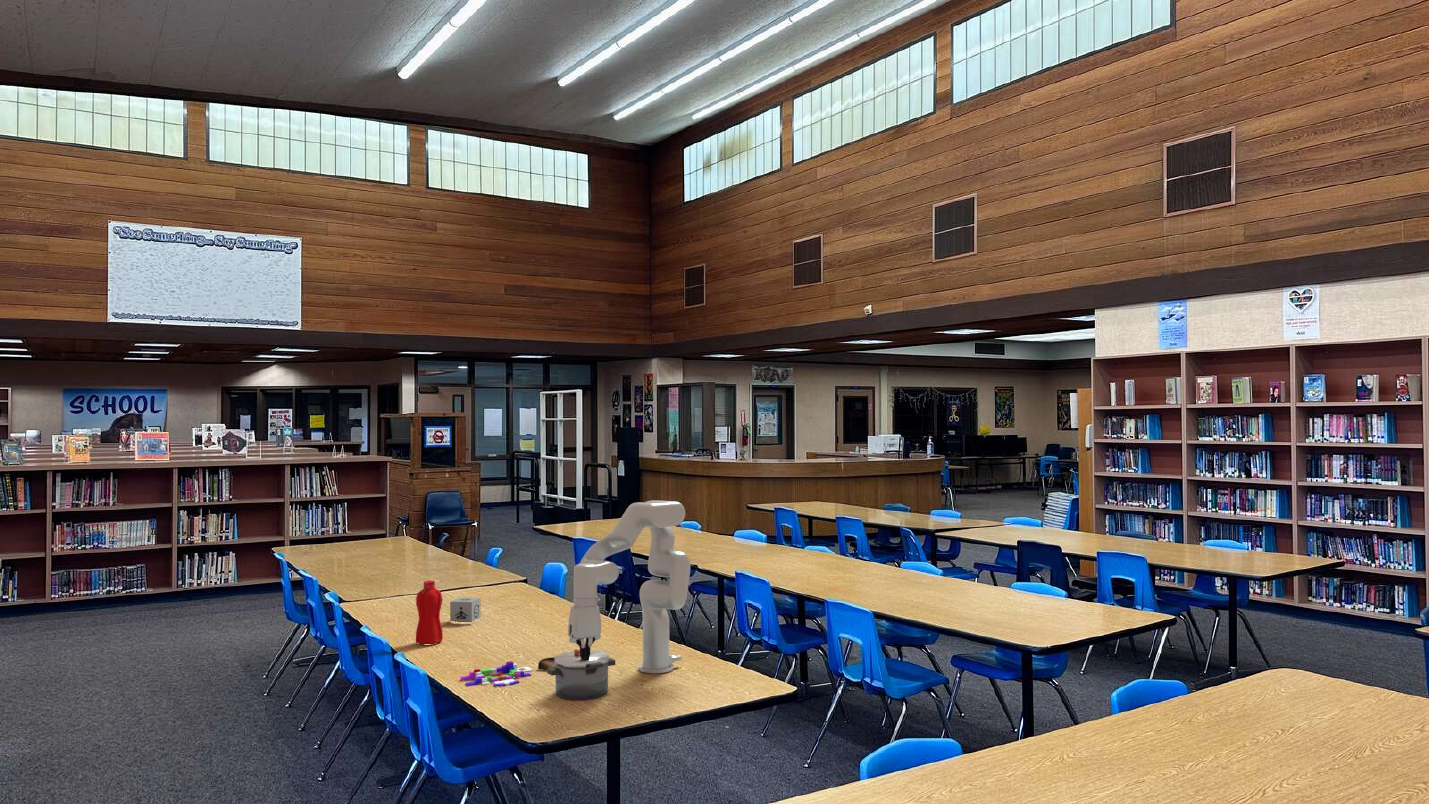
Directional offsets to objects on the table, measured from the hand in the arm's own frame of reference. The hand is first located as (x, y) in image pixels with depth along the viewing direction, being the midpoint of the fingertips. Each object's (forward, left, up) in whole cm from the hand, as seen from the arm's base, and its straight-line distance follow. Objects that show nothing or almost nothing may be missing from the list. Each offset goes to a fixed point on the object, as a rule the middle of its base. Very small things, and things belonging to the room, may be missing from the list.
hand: (585, 659), depth 292 cm
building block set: (+16, -35, -13) cm, 40 cm away
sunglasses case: (-9, -38, -12) cm, 41 cm away
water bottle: (+23, -100, -12) cm, 103 cm away
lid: (0, -2, -1) cm, 3 cm away
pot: (0, -3, -12) cm, 12 cm away
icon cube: (-3, -131, -12) cm, 132 cm away
